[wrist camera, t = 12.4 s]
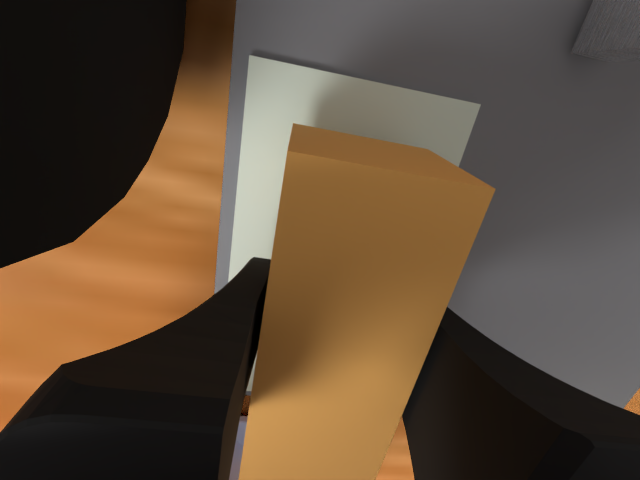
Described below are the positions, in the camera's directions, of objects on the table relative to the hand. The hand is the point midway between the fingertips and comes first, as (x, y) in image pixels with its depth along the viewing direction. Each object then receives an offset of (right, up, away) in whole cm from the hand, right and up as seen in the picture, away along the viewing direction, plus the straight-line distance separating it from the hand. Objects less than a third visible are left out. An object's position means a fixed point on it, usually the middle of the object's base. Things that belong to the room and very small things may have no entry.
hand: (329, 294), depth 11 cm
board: (+6, +2, +3) cm, 7 cm away
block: (0, 0, +1) cm, 1 cm away
